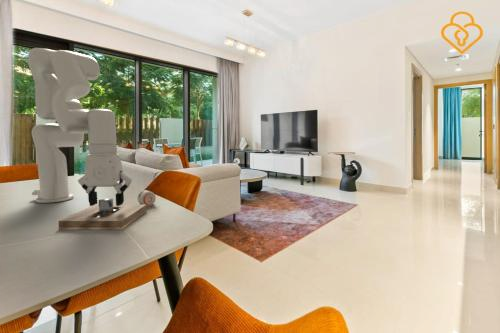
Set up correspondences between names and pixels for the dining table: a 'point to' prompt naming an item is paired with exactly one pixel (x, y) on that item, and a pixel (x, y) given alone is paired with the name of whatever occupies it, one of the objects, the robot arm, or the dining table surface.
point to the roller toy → (146, 198)
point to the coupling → (106, 207)
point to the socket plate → (103, 218)
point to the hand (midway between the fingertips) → (106, 204)
